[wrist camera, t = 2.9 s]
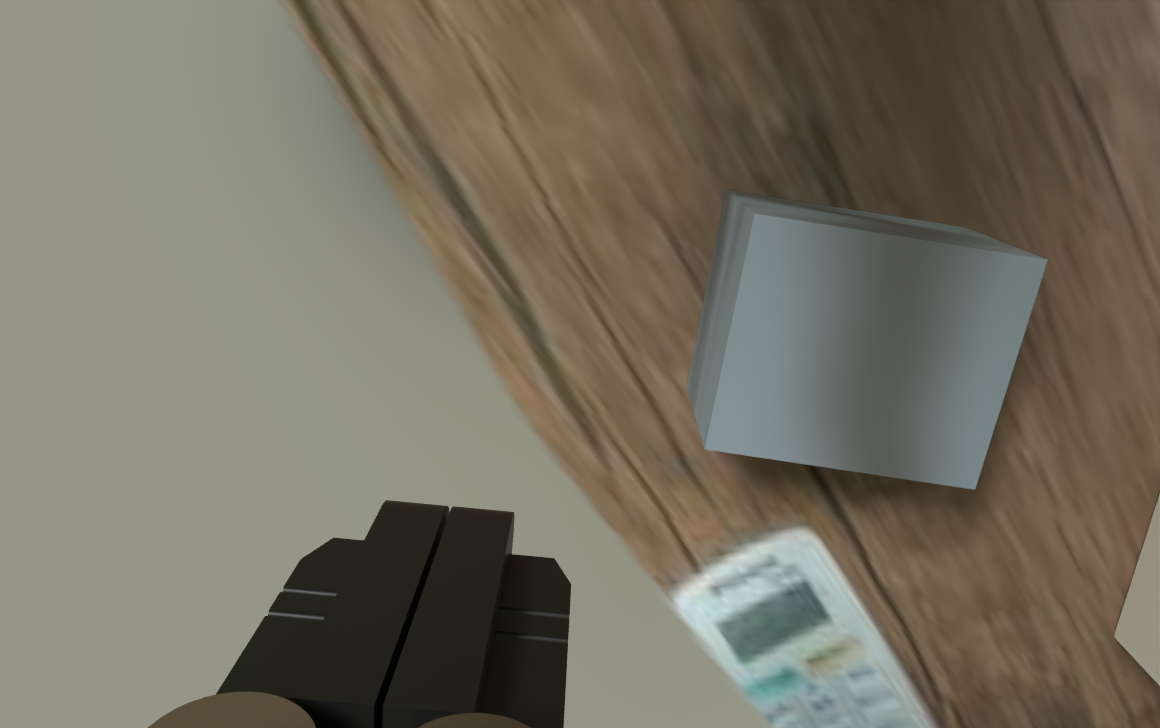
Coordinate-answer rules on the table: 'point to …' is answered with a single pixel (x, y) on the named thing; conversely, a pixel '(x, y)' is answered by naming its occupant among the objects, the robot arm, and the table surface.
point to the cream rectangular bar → (1144, 605)
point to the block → (857, 339)
